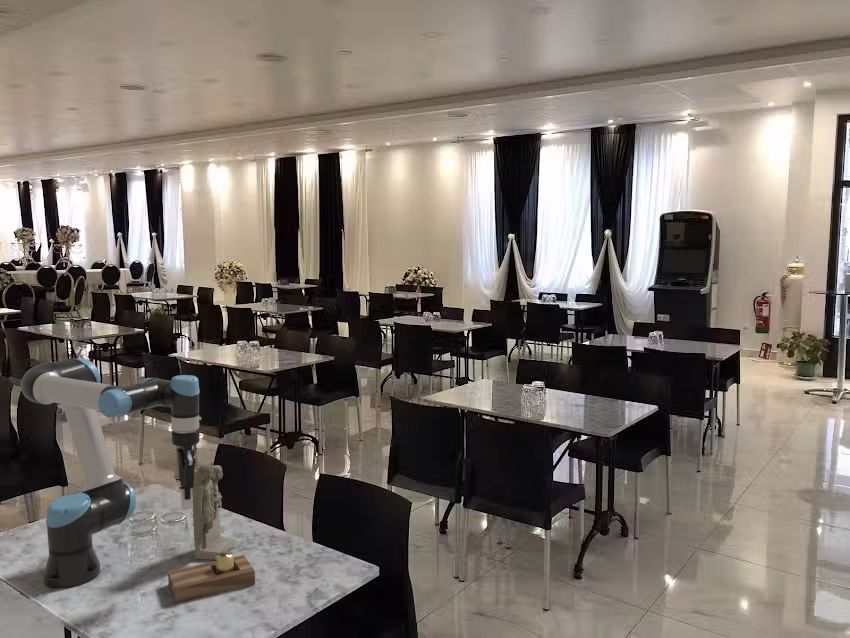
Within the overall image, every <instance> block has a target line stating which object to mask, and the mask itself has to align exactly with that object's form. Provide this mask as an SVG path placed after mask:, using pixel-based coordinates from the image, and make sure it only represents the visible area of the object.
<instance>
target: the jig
mask: <svg viewBox="0 0 850 638" xmlns="http://www.w3.org/2000/svg"><path fill="white" fill-rule="evenodd" d="M251 564H252V563H250V562H249V560H248V559H247V557H246V556H245V555H244V554H241V555H237V556H234V571H233V572H229V573H225V574H220V575H216V560H214V561H209V562H205V563H201V564H195V565H192V566H191V565H190V566H186V567H182V568H179V569H173V570H169V571H167V579H168V580H167V581H168V584H167V585H168V586H169V587H168V588H169V589H170V592H171V595H172V597H173V601H175V603H176V604H177V603H182V602H185V601H190V600H194V599H198V598H203V597H207V596H210V595H215V594H218V593H223V592H227V591H231V590H235V589H239V588H242V587H243V588H244V587H247V586H251V585H255V584H256V573H255V572H256V570H255V569H254V568H253V566H252V565H251Z"/></svg>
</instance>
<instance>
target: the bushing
mask: <svg viewBox="0 0 850 638" xmlns="http://www.w3.org/2000/svg"><path fill="white" fill-rule="evenodd" d="M234 554H235V553H234V552H233V551H229V550H228V551H224V552H220V553H218V554H216V560H215V561H216V575H220V574H225V573H229V572H233V571H234V557H235V555H234Z"/></svg>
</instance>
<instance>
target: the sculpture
mask: <svg viewBox="0 0 850 638" xmlns="http://www.w3.org/2000/svg"><path fill="white" fill-rule="evenodd" d="M223 475H224V473H223V468H222V466H221V465H218V464H217V465H216V464H215V465H211V464H209V463H204V464H202V465H200V466H199V467H198V469H196V470H195V469H194V487H193V488H192V518H193V519H192V520H193V521H192V522H193V539H194V540H193V541H194V544H193V545H194V559H196V560H208V561H209V560H211V561H212V560H214V561H216V554H218V553H220V552H224V551H229V550H231V549H232V548H233V547H234V546H235V541H234V538H233V537H227V536H226V537H225V536H221V518H220V517H221V516H220V509H222V504H223V503H222V499H223V496H222V495H221V492H219V486H218V483H219V481H220V480H222V478H223Z"/></svg>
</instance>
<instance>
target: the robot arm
mask: <svg viewBox="0 0 850 638" xmlns="http://www.w3.org/2000/svg"><path fill="white" fill-rule="evenodd" d="M24 373H25V374H24V375H23V376H22V378H21V381H20V388H21V392H22V394H23V395H24V397H25V398H26V399H27V400H29V401H30V402H32V403H35V404H42V405H51V404H54V403H55V404H56V406H57V408H59V409H61V410H63V411H64V414H65V418H66V421H67V424H68V428H69V432H70V435H71V437H72V441H73V444H74V448H75V453H76V455H77V457H78V460H79V461H78V462H79V465H80V467H81V471H82V475H83V479H84V483H85V485H84V487H83V488H82V490H81V491H82V492H81V493H80V492H79V493H72V494H67V495H64V496H61V497H59V498H57V499H56V500H54V501H52V502H51V503H50V504H49V505H48V507H47V509H46V518H45V523H46V529H47V531H46V532H47V533H46V534H47V544H48V545H47V547H48V557H47V561H46V565H45V567H44V571H43V583H44V585H45V586H47V587H50V588H54V589H55V588H57V589H58V588H59V589H62V588H71V587H75V586H79V585H82V584H85V583H88V582H90V581H92V580H94V579H95V578H96V577H98V576H99V575H100V573H101V563H100V559H99V558H98V555H97V553H96V551H95V549H94V546H93V535H94V534H97V533H99V532H102V531H104V530H106V529H109V528H111V527H114V526H116V525H120V524H121V523H123V522H125V521H126V520H128V519H130V518H131V517H133V514H134V512H135V510H136V507H137V496H136V493H135V490H134V488H133V487H131V485H130V484H129V483H127V482H124V481H123V478H122V476H119V475H117V474H116V473H115V470H114V466H113V463H112V460H111V457H110V453H109V449H108V447H107V443H106V439H105V437H104V433H103V429H102V426H101V423H100V418H99V416H98V412H97V411H100V413H101V415H102V414H103V415H104V417H106V418H108V419H109V418H110V419H112V418H119V417H123V416H126V415H129V414H132V413H137V412H140V411H144V410H149V409H152V408H156V407H164V408H165V407H166V408H171V409H170V410H171V416H170V417H171V421H170V422H171V430H172V431H171V443H172V445H173V446H177V448H176V452H177V461H178V462H177V463H178V482H179V483H180V486H179V489H180V495H181V496H180V505H181V506H180V508H181V510H182V511H187V510H193V501H192V499H193V497H192V488H193V487H194V471H195V465H196V462H197V461H196V458H195V449H193V447H194V445H198V444H199V443H200V441H201V440H200V435H201V434H200V421H201V420H202V417H201V416H200V393H201V392H200V386H199V385H200V383H199V382H200V381H199V378H198V377H197V376H195V375H193V374H192V375H189V374H188V375H187V374H182V375H181V374H180V375H176V376H173V377H172V378H171V380H167V379H161V378H158V377H147V378H144V379H143V380H142V381H140V382H139V383H135V384H132V385H127V386H126V385H125V386H119V385H114V384H108V383H102V382H101V373H100V372H99V369H98V367H97V366H96V365H95V364H94V363H93V362H92V361H90V360H89V359H86V358H85V357H83V358H82V357H80V358H79V357H78V358H68V359H64V360H63V359H62V360H58V361H53V362H47V363H46V362H45V363H40V364H37V365H34V366H32V367H31V368H29V369H28V370H27V371H26V372H24Z"/></svg>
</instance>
